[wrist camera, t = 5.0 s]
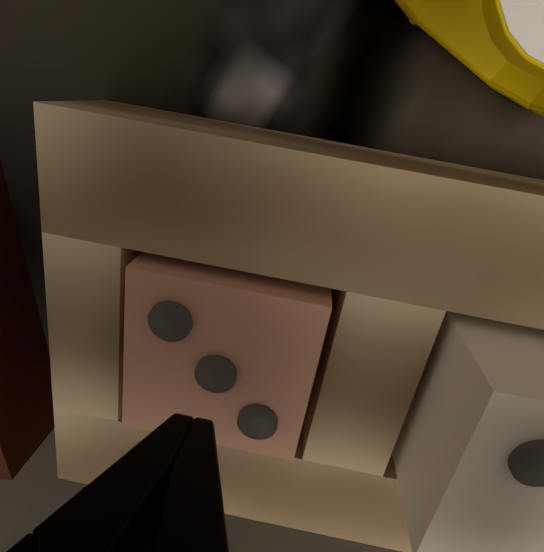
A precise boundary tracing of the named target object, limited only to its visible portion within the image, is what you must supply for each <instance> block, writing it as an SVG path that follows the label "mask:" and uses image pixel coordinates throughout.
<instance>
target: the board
mask: <svg viewBox="0 0 544 552" xmlns="http://www.w3.org/2000/svg"><path fill="white" fill-rule="evenodd" d="M33 108H34V124H35V139H36V154H37V169H38V184H39V200H40V215H41V230H42V245H43V260H44V275H45V291H46V306H47V321H48V336H49V351H50V367H51V382H52V397H53V412H54V427H55V442H56V458H57V473H58V478H60V479H65V480H70V481H74V482H79V483H84V484H89V483H91V482H92V481H93V480H94V479H95V478H97V477H98V476H99V475H100V474H101V473H103V472H104V471H105V470H106V469H107V468H109V467H110V466H111V465H112V464H113V463H115V462H116V461H117V460H118V459H119V458H121V457H122V456H123V455H124V454H126V453H127V452H128V451H129V450H130V449H132V448H133V447H134V446H135V445H136V444H138V443H139V442H140V441H141V440H142V439H144V438H145V437H146V436H147V435H148V434H150V433H151V432H152V431H147V430H142V429H138V428H133V427H128V426H123V425H122V401H123V354H124V307H125V267H126V266H127V265H128V264H129V263H131V262H132V261H133V260H134V259H135V258H136V257H137V256H138V255H140V254H141V253H142V252H146V253H152V254H157V255H162V256H167V257H172V258H177V259H182V260H187V261H193V262H198V263H203V264H208V265H213V266H218V267H223V268H229V269H234V270H239V271H244V272H249V273H254V274H259V275H264V276H270V277H275V278H280V279H285V280H290V281H295V282H300V283H305V284H311V285H316V286H321V287H326V288H331V294H332V310H331V314H330V318H329V322H328V326H327V330H326V334H325V338H324V342H323V346H322V350H321V354H320V358H319V362H318V366H317V369H316V373H315V377H314V381H313V385H312V389H311V393H310V397H309V401H308V405H307V409H306V413H305V417H304V421H303V425H302V429H301V432H300V436H299V440H298V444H297V448H296V452H295V456H294V460H293V461H291V460H286V459H281V458H277V457H272V456H267V455H262V454H257V453H253V452H248V451H243V450H238V449H234V448H229V447H224V446H219V445H216V446H217V454H218V462H219V471H220V479H221V488H222V496H223V504H224V513H225V514H229V515H233V516H238V517H243V518H247V519H252V520H257V521H262V522H266V523H271V524H276V525H280V526H285V527H290V528H294V529H299V530H304V531H308V532H313V533H318V534H322V535H327V536H332V537H336V538H341V539H346V540H350V541H355V542H360V543H364V544H369V545H374V546H378V547H383V548H388V549H393V550H397V551H402V552H412V549H411V544H410V539H409V534H408V529H407V524H406V519H405V514H404V509H403V504H402V499H401V494H400V489H399V484H398V479H397V474H396V469H395V464H394V459H393V454H392V451H393V449H394V446H395V443H396V441H397V438H398V436H399V433H400V430H401V428H402V425H403V423H404V420H405V417H406V415H407V412H408V410H409V407H410V404H411V402H412V399H413V397H414V394H415V391H416V389H417V386H418V383H419V381H420V378H421V376H422V373H423V370H424V368H425V365H426V363H427V360H428V357H429V355H430V352H431V350H432V347H433V344H434V342H435V339H436V337H437V334H438V331H439V329H440V326H441V323H442V321H443V318H444V316H445V313H446V311H449V312H454V313H459V314H465V315H470V316H475V317H480V318H485V319H490V320H495V321H501V322H506V323H511V324H516V325H521V326H526V327H531V328H536V329H542V330H544V180H541V179H536V178H531V177H525V176H520V175H514V174H509V173H503V172H498V171H492V170H487V169H482V168H476V167H471V166H465V165H460V164H454V163H449V162H443V161H438V160H433V159H427V158H422V157H416V156H411V155H405V154H400V153H394V152H389V151H383V150H378V149H373V148H367V147H362V146H356V145H351V144H345V143H340V142H334V141H329V140H324V139H318V138H313V137H307V136H302V135H296V134H291V133H285V132H280V131H275V130H269V129H264V128H258V127H253V126H247V125H242V124H236V123H231V122H226V121H220V120H215V119H209V118H204V117H198V116H193V115H187V114H182V113H177V112H171V111H166V110H160V109H155V108H149V107H144V106H138V105H133V104H128V103H122V102H117V101H111V100H82V101H38V102H33Z"/></svg>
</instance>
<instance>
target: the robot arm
mask: <svg viewBox="0 0 544 552" xmlns="http://www.w3.org/2000/svg"><path fill="white" fill-rule="evenodd" d="M7 552H229V547H228V538H227V530H226V521H225V513H224V504H223V496H222V488H221V479H220V471H219V462H218V454H217V446H216V437H215V429H214V423H213V421H212V420H209V419H204V418H199V417H196V418H194V419H193V417H192V416H189V415H184V414H179V413H175V414H173V415H171V416H170V417H169V418H168V419H167V420H165V421H164V422H163V423H162V424H161V425H159V426H158V427H157V428H156V429H155V430H153V431H152V432H151V433H150V434H148V435H147V436H146V437H145V438H144V439H142V440H141V441H140V442H139V443H138V444H136V445H135V446H134V447H133V448H132V449H130V450H129V451H128V452H127V453H126V454H124V455H123V456H122V457H121V458H119V459H118V460H117V461H116V462H115V463H113V464H112V465H111V466H110V467H109V468H107V469H106V470H105V471H104V472H103V473H101V474H100V475H99V476H98V477H97V478H95V479H94V480H93V481H92V482H91V483H89V484H88V485H87V486H86V487H84V488H83V489H82V490H81V491H80V492H78V493H77V494H76V495H75V496H74V497H72V498H71V499H70V500H69V501H68V502H66V503H65V504H64V505H63V506H62V507H60V508H59V509H58V510H57V511H55V512H54V513H53V514H52V515H51V516H49V517H48V518H47V519H46V520H45V521H43V522H42V523H41V524H40V525H39V526H37V527H36V528H35V529H34V530H33V535H32V534H31V533H29V534H27V535H26V536H25V537H24V538H23V539H21V540H20V541H19V542H18V543H17V544H15V545H14V546H13V547H12V548H11V549H9V550H8V551H7Z"/></svg>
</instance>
